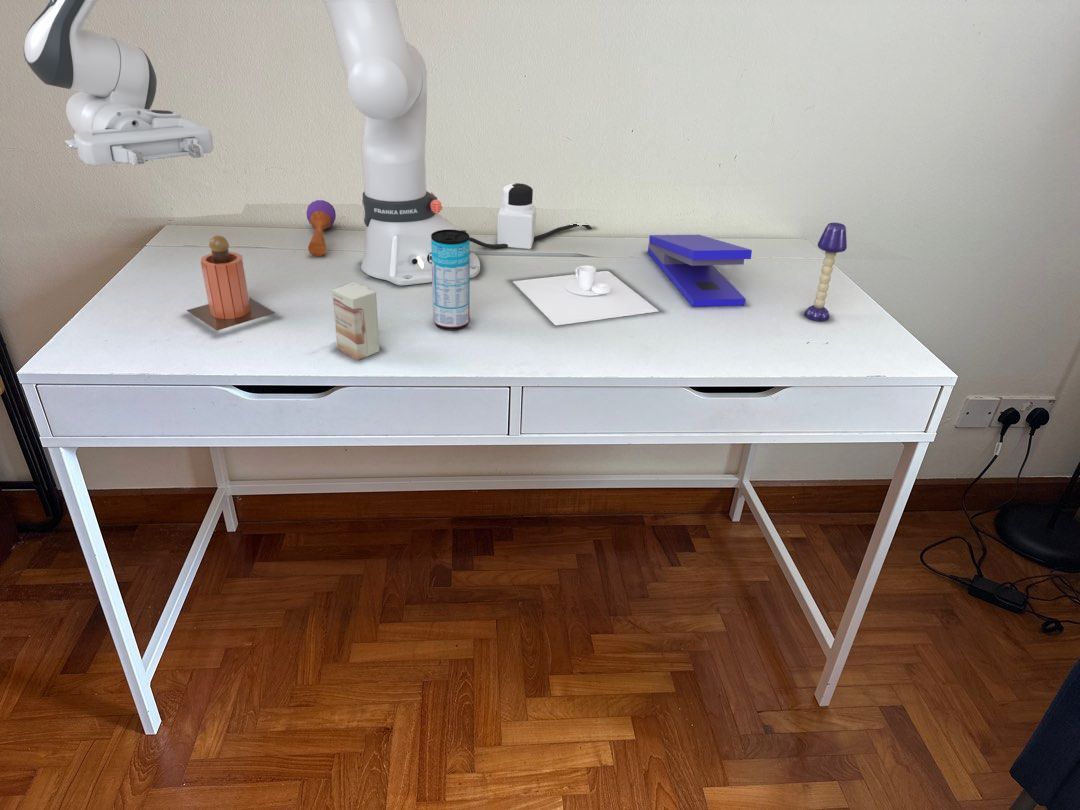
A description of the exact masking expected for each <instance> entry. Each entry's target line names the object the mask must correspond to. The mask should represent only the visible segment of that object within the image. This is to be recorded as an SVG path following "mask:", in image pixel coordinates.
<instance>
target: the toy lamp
mask: <svg viewBox="0 0 1080 810" xmlns="http://www.w3.org/2000/svg"><path fill="white" fill-rule="evenodd" d="M847 239H848V238H847V226H846V225H845V224H843V223H841V222H828V223H827V225H826V226H825V228H824V230H823V232H822V234H821V236H820V238H819V240H818V242H817V248H818V249H819V250H821V251H824V258H823V261H822V264H823V266H822V267H821V274H820V276H819V282H818V284H817V291H816V292H815V299H814V302H813V305H810V306H808V307H807V308H806V309H805V311H804V313H803V315H804V317H805V318H807V319H808V320H810V321H814V322H827V321H829V319H830V312H829V310H828V309H827V308H826V307H825V305H826V298H827V296H828V290H829V287H830V284H829V283H830V282H831V279H832V277H831V275H832V273H833V270H834V269H833V268H834V267H833V266H834V265H835V258H836V257H837V253H843V252H845V251H846V250H847V248H848V247H847V246H848V243H847Z"/></svg>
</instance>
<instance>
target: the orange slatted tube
mask: <svg viewBox="0 0 1080 810" xmlns="http://www.w3.org/2000/svg"><path fill="white" fill-rule="evenodd" d="M229 256H230V262H228V263H221V264H214V261H213V255H212V252H211V253H208V254H205V255H204V256H202V257H201V258H200V267H201V270H202V276H203V282H204V287H205V291H206V297H207V302H208V304H209V308H210V313H211V315H212V316H213V317H215V318H219V319H235V318H239V317H242V316H244V315H247V314H248V313H249V312H250V311H251V307H250V301H249V298H250V294H249V288H248V283H247V277H246V270H245V264H244V259H243V255H242V254H240V253H238V252H235V251H229Z"/></svg>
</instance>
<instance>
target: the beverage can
mask: <svg viewBox="0 0 1080 810" xmlns="http://www.w3.org/2000/svg"><path fill="white" fill-rule="evenodd" d="M460 230H461V229H460ZM460 230H451V229H448V230H439V231H436V232H434V233H432V234H431V254H432V282H431V284H432V286H431V287H432V320H433V323H434V325H435V326H436V327H437V328H439V329H441V330H444V331H458V330H463V329H465V328H466V327H467V326H468V325H469V323H470V320H471V319H470V318H471V317H470V312H471V311H470V306H471V305H470V297H471V296H470V293H471V292H470V290H471V289H470V284H471V282H470V281H471V280H470V279H471V278H470V251H471V250H470V248H471V246H470V243H471V242H470V241H469V237H470V234H469V233H468V232H467V231H466V232H464V231H460Z"/></svg>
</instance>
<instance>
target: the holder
mask: <svg viewBox="0 0 1080 810" xmlns="http://www.w3.org/2000/svg"><path fill="white" fill-rule="evenodd" d="M208 247H209V249H210V250H211V253H212V255H213V261H214V264H221V263H228V262H230V256H229V252H230V250H229V248H230V243H229V240H228V239H227V238H226V237H225V236H223V235H220V234H219V235H218V234H217V235H213V236H212V237H211V238H210V240H209V242H208ZM249 301H250V307H251V311H250V312H249V313H248V314H247V315H244V316H242V317H239V318H235V319H219V318H215V317H213V316H212V315H211V313H210V308H209V303H207V304H204V305H200V306H197V307H196V306H195V307H193V308H190V309H189V308H188V309H186V311H187V312H188V313H190V314H191V315H192V316H194V317H196V318H197V319H199V320H200V321H201V322H203V323H204V324H206V325H208V326H209V327H210V328H212V329H214V330H215V331H220V330H221V331H222V330H224V329H228V328H230V327H234V326H238V325H240V324H243V323H247V322H250V321H254V320H257V319H260V318H263V317H266V316H271V315H273V314H276V312H275V311H273V310H272V309H270V308H268V307H267V306H265V305H263V304H261V303H260V302H258V301H256V300H255V299H253V298H251V297H249Z"/></svg>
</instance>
